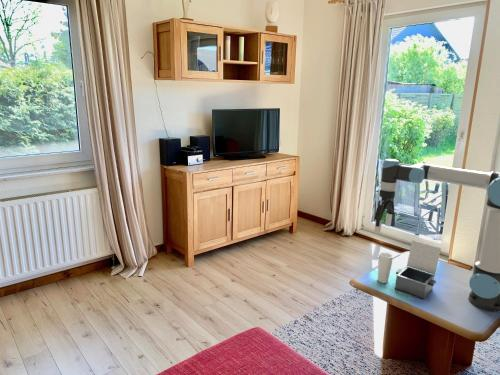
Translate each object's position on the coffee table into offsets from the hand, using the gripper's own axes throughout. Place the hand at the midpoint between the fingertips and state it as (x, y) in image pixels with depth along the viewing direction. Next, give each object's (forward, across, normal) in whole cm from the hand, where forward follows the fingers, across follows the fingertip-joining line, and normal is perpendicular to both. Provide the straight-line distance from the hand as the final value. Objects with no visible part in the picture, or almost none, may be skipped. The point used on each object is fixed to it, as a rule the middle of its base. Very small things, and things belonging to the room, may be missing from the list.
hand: (382, 228), depth 192 cm
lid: (+13, -9, +19) cm, 25 cm away
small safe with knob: (+28, -1, +19) cm, 34 cm away
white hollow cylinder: (+28, +2, +4) cm, 29 cm away
